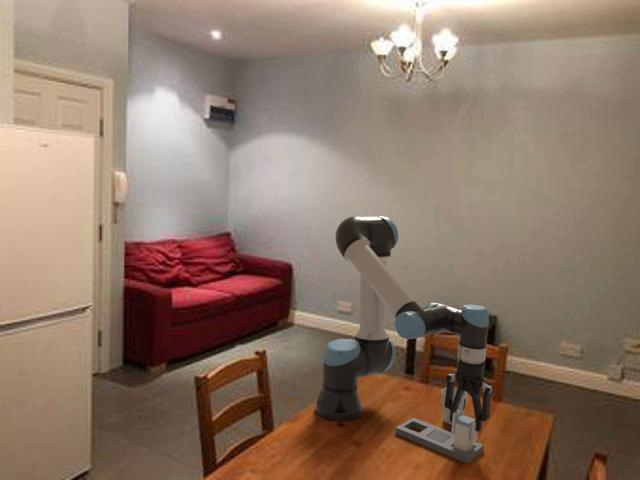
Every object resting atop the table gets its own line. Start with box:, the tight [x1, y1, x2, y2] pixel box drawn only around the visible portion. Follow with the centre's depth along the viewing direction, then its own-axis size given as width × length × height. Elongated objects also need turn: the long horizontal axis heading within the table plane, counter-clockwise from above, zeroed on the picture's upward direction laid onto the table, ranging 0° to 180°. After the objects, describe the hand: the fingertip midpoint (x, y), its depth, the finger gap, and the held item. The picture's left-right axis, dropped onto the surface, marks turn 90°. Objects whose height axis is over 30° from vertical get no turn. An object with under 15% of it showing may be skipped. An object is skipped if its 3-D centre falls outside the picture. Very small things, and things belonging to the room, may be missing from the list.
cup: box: [441, 387, 468, 426], centre depth 179 cm, size 8×8×10 cm
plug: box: [454, 414, 475, 453], centre depth 159 cm, size 4×4×10 cm
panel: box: [395, 417, 485, 465], centre depth 165 cm, size 24×10×2 cm, turn 49°
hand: (464, 436), depth 159 cm, fingers open, 5 cm apart
